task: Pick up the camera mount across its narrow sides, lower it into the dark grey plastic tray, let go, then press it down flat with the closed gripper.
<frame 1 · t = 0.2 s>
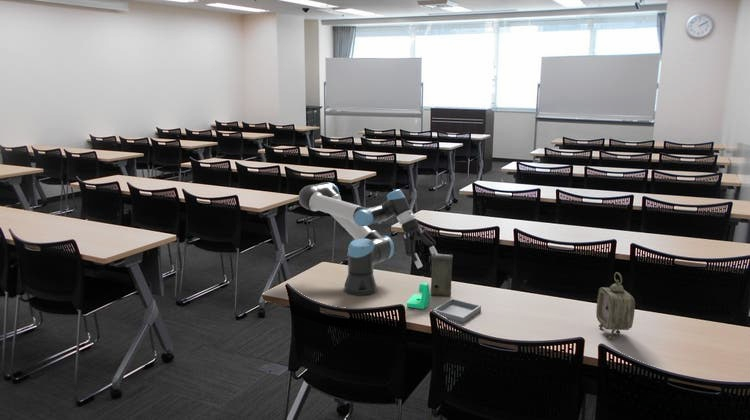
hand: (429, 263, 254), 15 cm above the table, fingers open, 13 cm apart
tabletop clock: (612, 334, 220), on the table
camera mount: (418, 305, 247), on the table
tray: (457, 313, 238), on the table
vintage camera: (440, 291, 264), on the table
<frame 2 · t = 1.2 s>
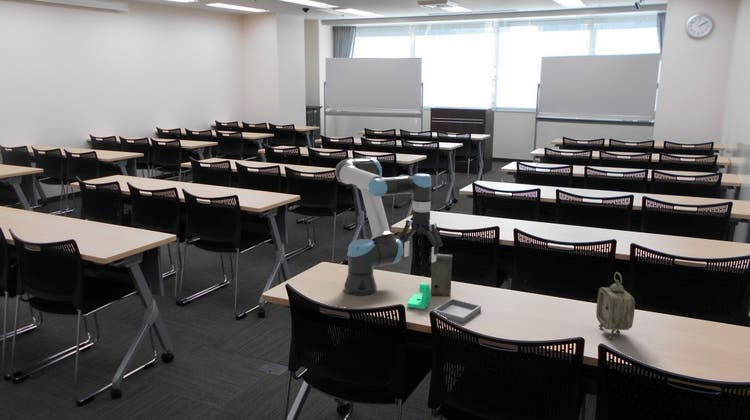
hand: (419, 259, 242), 21 cm above the table, fingers open, 13 cm apart
nothing on the table moved.
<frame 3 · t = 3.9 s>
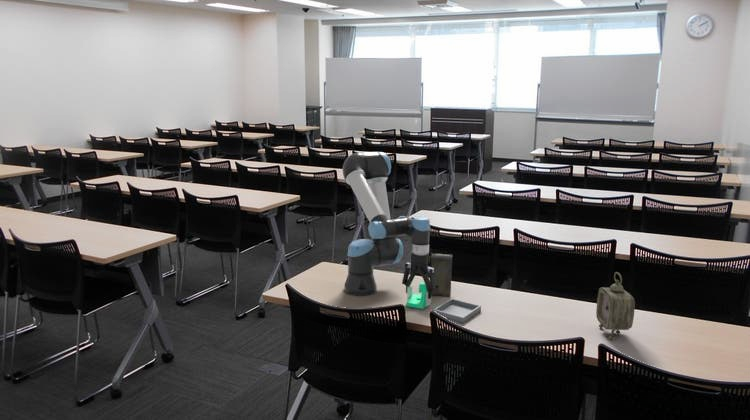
hand: (418, 302, 246), 1 cm above the table, fingers closed on camera mount, 9 cm apart
camera mount: (418, 305, 246), on the table, touching gripper
everything else where it was.
when the fingers open (3 cm above the table, at t = 10.2 s): camera mount drops 2 cm, resting on tray.
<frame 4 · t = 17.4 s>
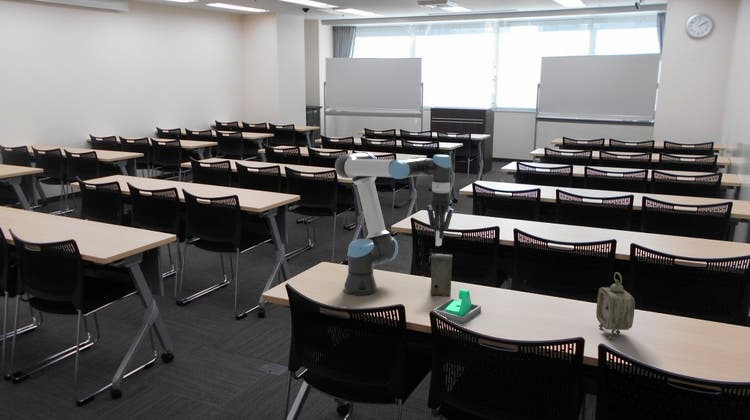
hand: (438, 245, 244), 26 cm above the table, fingers closed
camera mount: (458, 312, 238), resting on tray
everything else where it was.
at the end: camera mount 0.4 cm off-centre on the tray, point 0.4 cm above the tray's base; camera mount tilted 0°; the gripper is holding nothing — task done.
